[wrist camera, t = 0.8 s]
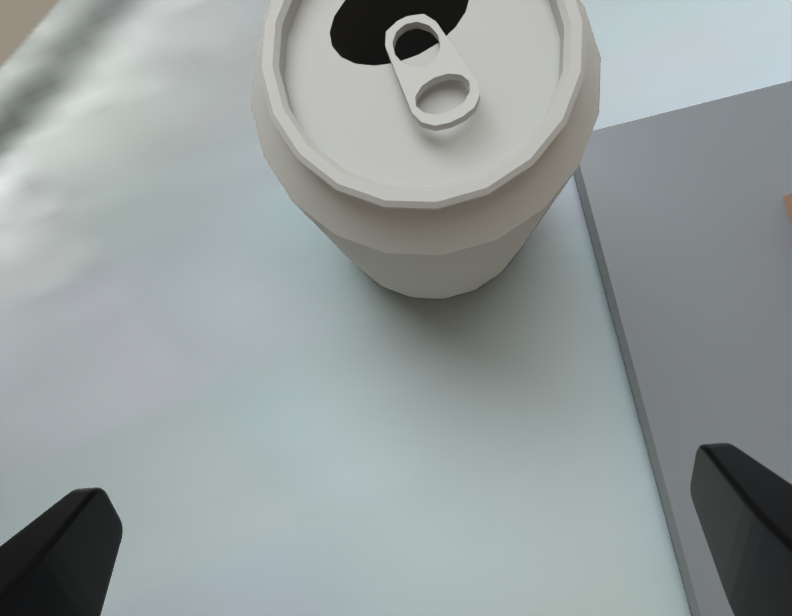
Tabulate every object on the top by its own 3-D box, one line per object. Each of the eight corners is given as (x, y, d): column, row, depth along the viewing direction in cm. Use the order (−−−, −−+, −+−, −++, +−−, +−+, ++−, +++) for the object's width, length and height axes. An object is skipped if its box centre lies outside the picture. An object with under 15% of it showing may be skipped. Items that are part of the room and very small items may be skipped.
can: (480, 80, 23) (518, -217, 11) (563, 252, 22) (702, 131, 10) (308, 161, 23) (163, -43, 11) (383, 332, 22) (313, 308, 11)
